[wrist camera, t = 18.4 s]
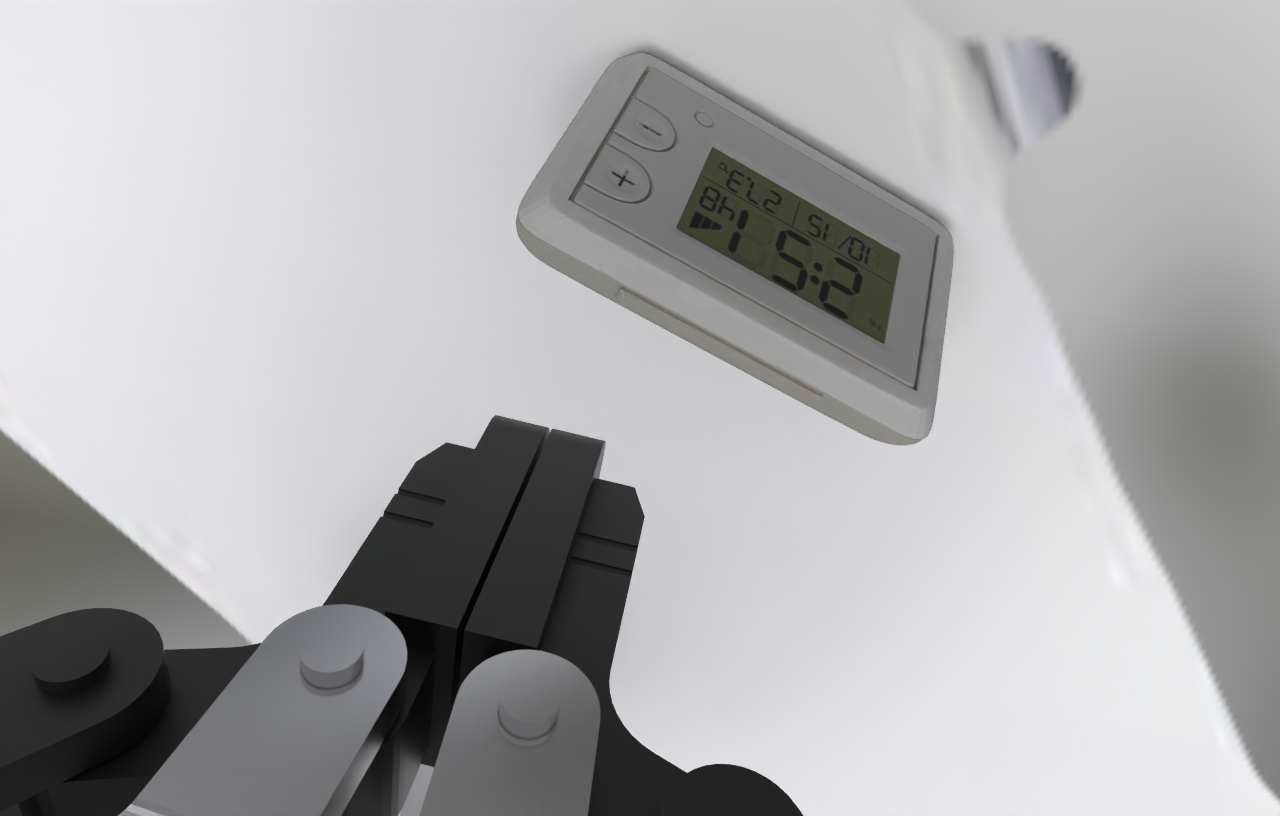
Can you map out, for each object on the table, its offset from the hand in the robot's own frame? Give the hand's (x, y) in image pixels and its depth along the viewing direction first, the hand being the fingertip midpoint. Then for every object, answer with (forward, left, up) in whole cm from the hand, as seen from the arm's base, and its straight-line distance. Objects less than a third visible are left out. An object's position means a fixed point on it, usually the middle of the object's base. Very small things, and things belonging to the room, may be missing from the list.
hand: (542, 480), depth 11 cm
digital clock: (-4, -3, -26) cm, 27 cm away
